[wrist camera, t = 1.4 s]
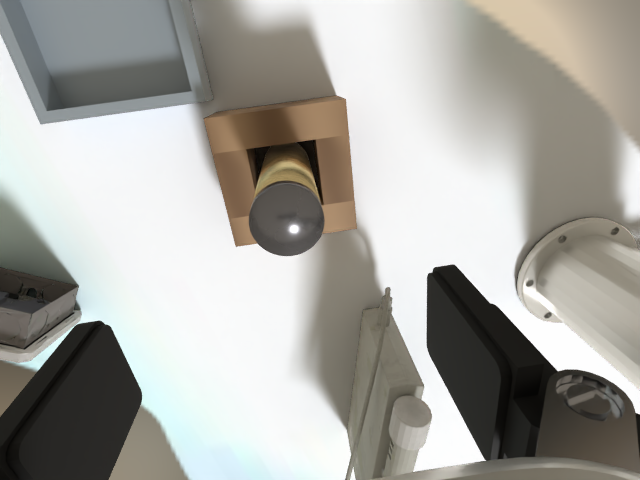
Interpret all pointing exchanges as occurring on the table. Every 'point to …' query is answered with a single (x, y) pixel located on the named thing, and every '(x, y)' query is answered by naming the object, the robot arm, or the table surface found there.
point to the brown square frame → (281, 128)
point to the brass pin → (286, 203)
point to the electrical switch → (33, 314)
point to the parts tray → (104, 55)
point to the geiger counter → (385, 400)
